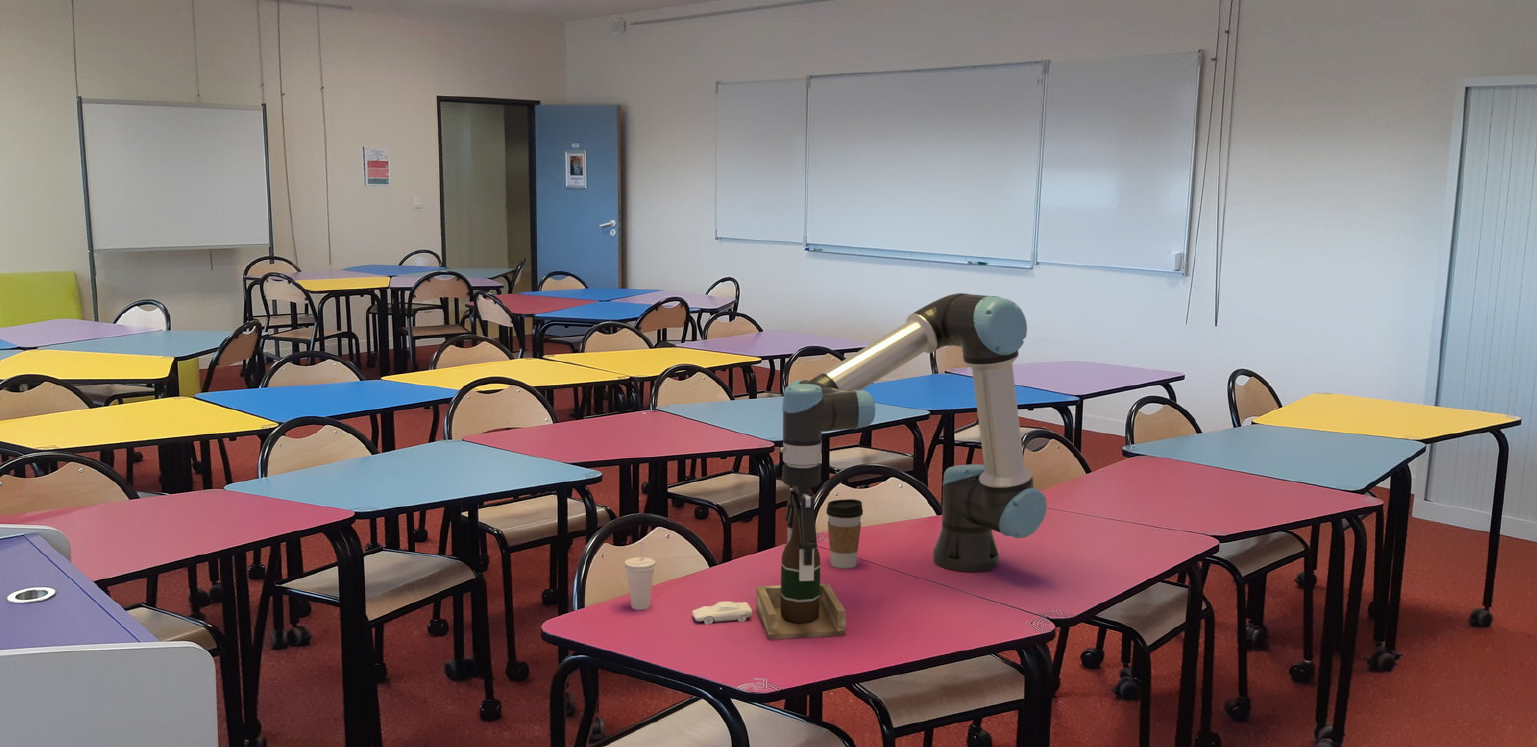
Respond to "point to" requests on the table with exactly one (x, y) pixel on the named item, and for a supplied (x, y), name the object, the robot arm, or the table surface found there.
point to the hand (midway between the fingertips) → (800, 569)
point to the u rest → (778, 628)
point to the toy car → (723, 612)
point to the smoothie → (640, 580)
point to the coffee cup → (844, 531)
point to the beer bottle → (798, 583)
